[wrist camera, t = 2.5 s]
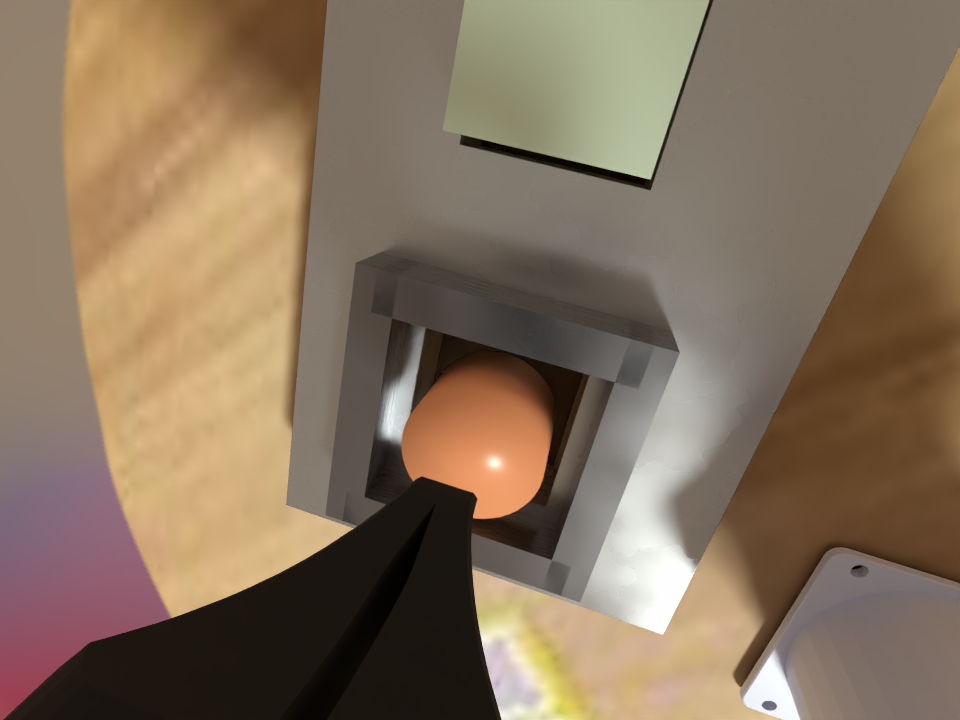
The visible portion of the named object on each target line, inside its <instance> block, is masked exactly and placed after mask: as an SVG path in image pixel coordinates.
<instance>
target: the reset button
mask: <svg viewBox="0 0 960 720" xmlns="http://www.w3.org/2000/svg"><path fill="white" fill-rule="evenodd" d="M555 415H556V412H555V403H554V399H553V396H552V393H551V390H550V389H549V387H548V385H547V383H546V382H545V380H544V379H543V377H542V376H541V375H540V374H539V373H538V372H537V371H536V370H535V369H534V368H533V367H531V366H530V365H529V364H527V363H526V362H524V361H523V360H521V359H519V358H517V357H515V356H512V355H509V354H506V353H501V352H494V351H482V352H475V353H471V354H468V355H465V356H463V357H461V358H459V359H457V360H456V361H454V362H453V363H452V364H450V365H449V366H448V367H447V368H446V369H445V370H444V372H443V373H442V374H441V375H440V377H439V378H438V379H437V381H436V382H435V383H434V385H433V386H432V387H431V388H430V390H429V391H428V392H427V394H426V395H425V396H424V398H423V399H422V400H421V402H420V403H419V404H418V405H417V407H416V408H415V409H414V411H413V412H412V413H411V415H410V417H409V418H408V420H407V422H406V424H405V427H404V430H403V434H402V442H401V446H402V456H403V461H404V464H405V467H406V469H407V471H408V474H409V476H410V477H411V479H412V480H413V481H414V480H415V479H417V478H419V477H421V476H423V477H426V478H429V479H432V480H435V481H438V482H441V483H444V484H447V485H450V486H454V487H457V488H460V489H463V490H466V491H469V492H472V493H474V494H475V496H476V497H477V503H476V507H475V511H474V514H473V518H477V519H489V518H497V517H502V516H505V515H508V514H511V513H513V512H515V511H517V510H519V509H520V508H522V507H523V506H525V505H526V504H527V503H528V502H529V501H530V500H531V499H532V498H533V497H534V496H535V494H536V493H537V491H538V489H539V488H540V486H541V483H542V481H543V477H544V473H545V468H546V463H547V458H548V453H549V448H550V444H551V439H552V434H553V429H554V424H555Z"/></svg>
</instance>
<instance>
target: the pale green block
mask: <svg viewBox="0 0 960 720" xmlns="http://www.w3.org/2000/svg"><path fill="white" fill-rule="evenodd" d="M708 3H709V0H465V1H464V7H463V13H462V19H461V25H460V31H459V37H458V43H457V48H456V54H455V60H454V66H453V72H452V78H451V84H450V90H449V96H448V101H447V107H446V113H445V119H444V125H443V130H444V131H448V132H452V133H457V134H461V135H465V136H469V137H473V138H478V139H482V140H486V141H490V142H494V143H499V144H503V145H507V146H511V147H515V148H520V149H524V150H528V151H532V152H537V153H541V154H545V155H549V156H553V157H558V158H562V159H566V160H570V161H574V162H579V163H583V164H587V165H591V166H595V167H600V168H604V169H608V170H612V171H616V172H621V173H625V174H629V175H633V176H638V177H642V178H646V179H650V180H651V177H652V174H653V171H654V168H655V165H656V162H657V159H658V156H659V153H660V150H661V147H662V144H663V141H664V138H665V134H666V131H667V128H668V125H669V122H670V119H671V116H672V113H673V110H674V107H675V104H676V101H677V98H678V95H679V92H680V89H681V86H682V83H683V80H684V77H685V74H686V70H687V67H688V64H689V61H690V58H691V55H692V52H693V49H694V46H695V43H696V40H697V37H698V34H699V31H700V28H701V25H702V22H703V19H704V16H705V13H706V9H707V6H708Z"/></svg>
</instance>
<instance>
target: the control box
mask: <svg viewBox="0 0 960 720" xmlns="http://www.w3.org/2000/svg"><path fill="white" fill-rule="evenodd" d="M464 1H465V0H327V11H326V23H325V35H324V48H323V60H322V72H321V85H320V97H319V109H318V121H317V134H316V146H315V158H314V171H313V183H312V195H311V208H310V220H309V232H308V244H307V257H306V269H305V281H304V294H303V306H302V318H301V331H300V343H299V355H298V367H297V380H296V392H295V404H294V417H293V429H292V441H291V454H290V466H289V478H288V490H287V503H286V505H288V506H291V507H294V508H297V509H300V510H303V511H306V512H308V513H311V514H314V515H317V516H320V517H323V518H326V519H329V520H332V521H335V522H337V523H340V524H343V525H346V526H349V527H352V528H355V527H357V526H358V525H360V524H361V523H362V522H364V521H365V520H366V519H368V518H369V517H370V516H372V515H373V514H374V513H376V512H377V511H379V510H380V509H381V508H383V507H384V506H385V505H386V504H388V503H389V502H390V501H391V500H392V499H394V498H395V497H396V496H397V495H399V494H400V493H401V492H402V491H403V490H404V489H406V488H407V487H408V486H409V485H410V484H411V483H412V482H413V480H412V479H411V477H410V476H409V474H408V471H407V469H406V467H405V464H404V461H403V456H402V446H401V442H402V434H403V430H404V427H405V424H406V422H407V420H408V418H409V417H410V415H411V413H412V412H413V411H414V409H415V408H416V407H417V405H418V404H419V403H420V402H421V400H422V399H423V398H424V396H425V395H426V394H427V392H428V391H429V390H430V388H431V387H432V386H433V383H434V378H435V373H436V368H437V363H438V358H439V353H440V348H441V343H442V338H443V333H445V334H449V335H452V336H456V337H459V338H463V339H466V340H469V341H473V342H476V343H480V344H483V345H487V346H490V347H494V348H497V349H501V350H504V351H508V352H511V353H515V354H518V355H522V356H525V357H528V358H532V359H535V360H539V361H542V362H546V363H549V364H553V365H556V366H560V367H563V368H567V369H570V370H574V371H577V372H581V373H583V376H582V379H581V382H580V385H579V389H578V392H577V395H576V398H575V401H574V404H573V407H572V410H571V413H570V416H569V419H568V422H567V425H566V429H565V432H564V435H563V438H562V441H561V444H560V447H559V450H558V453H557V456H556V459H555V462H554V465H550V464H547V463H546V468H545V473H544V477H543V481H542V483H541V486H540V488H539V489H538V491H537V493H536V494H535V496H534V497H533V498H532V499H531V500H530V501H529V502H528V503H527V504H526V505H525V506H523V507H522V508H520V509H519V510H517V511H515V512H513V513H511V514H508V515H505V516H502V517H497V518H489V519H477V518H473V522H472V537H471V552H472V569H474V570H477V571H480V572H483V573H485V574H488V575H491V576H494V577H497V578H500V579H503V580H506V581H509V582H512V583H514V584H517V585H520V586H523V587H526V588H529V589H532V590H535V591H538V592H541V593H543V594H546V595H549V596H552V597H555V598H558V599H561V600H564V601H567V602H570V603H573V604H575V605H578V606H581V607H584V608H587V609H590V610H593V611H596V612H599V613H602V614H604V615H607V616H610V617H613V618H616V619H619V620H622V621H625V622H628V623H631V624H633V625H636V626H639V627H642V628H645V629H648V630H651V631H654V632H657V633H660V634H662V635H663V633H664V631H665V629H666V627H667V625H668V623H669V621H670V619H671V617H672V615H673V613H674V611H675V609H676V607H677V605H678V603H679V601H680V599H681V597H682V595H683V593H684V591H685V589H686V587H687V585H688V584H689V582H690V580H691V578H692V576H693V574H694V572H695V570H696V568H697V566H698V564H699V562H700V560H701V558H702V556H703V554H704V552H705V550H706V548H707V546H708V544H709V542H710V540H711V538H712V536H713V534H714V532H715V530H716V528H717V526H718V524H719V522H720V520H721V518H722V516H723V514H724V512H725V510H726V508H727V506H728V504H729V502H730V500H731V498H732V496H733V494H734V492H735V490H736V488H737V486H738V484H739V482H740V480H741V478H742V476H743V474H744V472H745V470H746V468H747V467H748V465H749V463H750V461H751V459H752V457H753V455H754V453H755V451H756V449H757V447H758V445H759V443H760V441H761V439H762V437H763V435H764V433H765V431H766V429H767V427H768V425H769V423H770V421H771V419H772V417H773V415H774V413H775V411H776V409H777V407H778V405H779V403H780V401H781V399H782V397H783V395H784V393H785V391H786V389H787V387H788V385H789V383H790V381H791V379H792V377H793V375H794V373H795V371H796V369H797V367H798V365H799V363H800V361H801V359H802V357H803V355H804V353H805V351H806V350H807V348H808V346H809V344H810V342H811V340H812V338H813V336H814V334H815V332H816V330H817V328H818V326H819V324H820V322H821V320H822V318H823V316H824V314H825V312H826V310H827V308H828V306H829V304H830V302H831V300H832V298H833V296H834V294H835V292H836V290H837V288H838V286H839V284H840V282H841V280H842V278H843V276H844V274H845V272H846V270H847V268H848V266H849V264H850V262H851V260H852V258H853V256H854V254H855V252H856V250H857V248H858V246H859V244H860V242H861V240H862V238H863V236H864V234H865V233H866V231H867V229H868V227H869V225H870V223H871V221H872V219H873V217H874V215H875V213H876V211H877V209H878V207H879V205H880V203H881V201H882V199H883V197H884V195H885V193H886V191H887V189H888V187H889V185H890V183H891V181H892V179H893V177H894V175H895V173H896V171H897V169H898V167H899V165H900V163H901V161H902V159H903V157H904V155H905V153H906V151H907V149H908V147H909V145H910V143H911V141H912V139H913V137H914V135H915V133H916V131H917V129H918V127H919V125H920V123H921V121H922V119H923V117H924V116H925V114H926V112H927V110H928V108H929V106H930V104H931V102H932V100H933V98H934V96H935V94H936V92H937V90H938V88H939V86H940V84H941V82H942V80H943V78H944V76H945V74H946V72H947V70H948V68H949V66H950V64H951V62H952V60H953V58H954V56H955V54H956V52H957V50H958V48H959V46H960V0H709V3H708V6H707V9H706V13H705V16H704V19H703V22H702V25H701V28H700V31H699V34H698V37H697V40H696V43H695V46H694V49H693V52H692V55H691V58H690V61H689V64H688V67H687V70H686V74H685V77H684V80H683V83H682V86H681V89H680V92H679V95H678V98H677V101H676V104H675V107H674V110H673V113H672V116H671V119H670V122H669V125H668V128H667V131H666V134H665V138H664V141H663V144H662V147H661V150H660V153H659V156H658V159H657V162H656V165H655V168H654V171H653V174H652V177H651V180H650V179H646V182H645V185H641V184H637V183H633V182H628V181H624V180H620V179H616V178H612V177H607V176H603V175H599V174H595V173H591V172H587V171H582V170H578V169H574V168H570V167H566V166H561V165H557V164H553V163H549V162H545V161H541V160H536V159H532V158H528V157H524V156H520V155H516V154H511V153H507V152H503V151H499V150H495V149H490V148H486V147H482V146H481V142H482V139H478V138H473V137H469V136H465V135H461V134H457V133H452V132H448V131H444V130H443V125H444V119H445V113H446V107H447V101H448V96H449V90H450V84H451V78H452V72H453V66H454V60H455V54H456V48H457V43H458V37H459V31H460V25H461V19H462V13H463V7H464Z"/></svg>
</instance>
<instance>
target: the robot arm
mask: <svg viewBox="0 0 960 720" xmlns="http://www.w3.org/2000/svg"><path fill="white" fill-rule="evenodd" d="M476 503H477V497H476V496H475V494H474V493H472V492H469V491H466V490H463V489H460V488H457V487H454V486H450V485H447V484H444V483H441V482H438V481H435V480H432V479H429V478H426V477H423V476H421V477H419V478H417V479H415V480H414V481H413V482H412V483H411V484H410V485H409V486H408V487H407V488H406V489H404V490H403V491H402V492H401V493H400V494H399V495H397V496H396V497H395V498H394V499H392V500H391V501H390V502H389V503H388V504H386V505H385V506H384V507H383V508H381V509H380V510H379V511H377V512H376V513H374V514H373V515H372V516H370V517H369V518H368V519H366V520H365V521H364V522H362V523H361V524H360V525H358V526H357V527H355V528H354V529H353V530H351V531H350V532H348V533H346V534H345V535H343V536H342V537H340V538H339V539H337V540H336V541H334V542H333V543H331V544H330V545H328V546H327V547H325V548H323V549H322V550H320V551H318V552H317V553H315V554H313V555H312V556H310V557H308V558H307V559H305V560H303V561H301V562H299V563H298V564H296V565H294V566H292V567H290V568H288V569H286V570H285V571H283V572H281V573H279V574H277V575H275V576H272V577H270V578H268V579H266V580H264V581H262V582H260V583H258V584H256V585H254V586H252V587H250V588H247V589H245V590H243V591H241V592H238V593H236V594H234V595H231V596H229V597H227V598H224V599H222V600H219V601H216V602H214V603H211V604H209V605H206V606H203V607H201V608H198V609H196V610H193V611H190V612H188V613H185V614H183V615H180V616H177V617H174V618H171V619H168V620H165V621H162V622H159V623H156V624H152V625H149V626H146V627H142V628H139V629H136V630H132V631H129V632H126V633H122V634H119V635H115V636H112V637H108V638H105V639H102V640H98V641H94V642H90V643H89V644H88V645H86V646H85V647H84V648H83V649H82V650H81V651H79V652H78V653H77V654H76V655H74V656H73V657H72V658H70V660H68V661H67V662H65V663H64V664H63V665H62V666H61V667H60V668H58V669H57V670H56V671H55V672H54V673H53V674H52V675H51V676H50V677H48V678H47V679H46V680H45V681H44V682H43V683H42V684H41V685H40V686H39V687H38V688H37V689H36V690H34V691H33V692H32V693H31V694H30V695H29V696H28V697H27V698H26V699H25V700H24V701H23V702H22V703H21V704H20V705H19V706H17V707H16V708H15V710H13V711H12V712H11V713H10V714H9V715H8V716H7V717H6V718H5V719H4V720H501V717H500V713H499V710H498V706H497V702H496V699H495V695H494V692H493V688H492V685H491V681H490V677H489V674H488V669H487V665H486V660H485V656H484V651H483V647H482V641H481V636H480V631H479V625H478V619H477V612H476V605H475V596H474V587H473V575H472V552H471V537H472V522H473V514H474V511H475V507H476ZM857 565H863V566H862V567H861V568H859V569H852V568H853V567H854V566H857ZM740 694H741V699H742V702H743V703H744V704H745V705H746V706H747V707H749V708H751V709H754V710H757V711H760V712H763V713H766V714H768V715H771V716H774V717H777V718H780V719H782V720H960V583H958V582H954V581H951V580H948V579H945V578H942V577H938V576H935V575H932V574H929V573H926V572H922V571H919V570H916V569H913V568H909V567H906V566H903V565H900V564H897V563H893V562H890V561H887V560H884V559H880V558H877V557H874V556H871V555H868V554H864V553H861V552H858V551H855V550H851V549H848V548H843V547H837V548H833V549H831V550H828V551H827V552H826V553H825V554H824V556H823V558H822V559H821V561H820V562H819V564H818V566H817V567H816V569H815V570H814V572H813V573H812V575H811V577H810V578H809V580H808V581H807V583H806V585H805V586H804V588H803V589H802V591H801V593H800V594H799V596H798V597H797V599H796V601H795V602H794V604H793V605H792V607H791V609H790V610H789V612H788V613H787V615H786V617H785V618H784V620H783V621H782V623H781V625H780V626H779V628H778V629H777V631H776V633H775V634H774V636H773V637H772V639H771V641H770V642H769V644H768V645H767V647H766V649H765V650H764V652H763V653H762V655H761V657H760V658H759V660H758V661H757V663H756V665H755V666H754V668H753V669H752V671H751V673H750V674H749V676H748V677H747V679H746V680H745V682H744V684H743V685H742V687H741V689H740Z"/></svg>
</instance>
